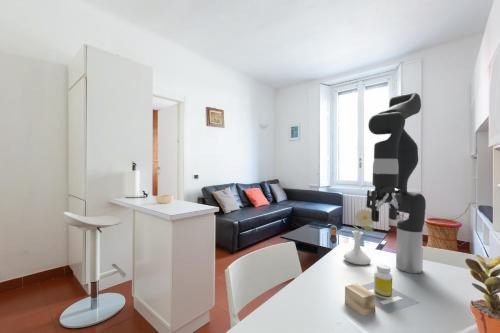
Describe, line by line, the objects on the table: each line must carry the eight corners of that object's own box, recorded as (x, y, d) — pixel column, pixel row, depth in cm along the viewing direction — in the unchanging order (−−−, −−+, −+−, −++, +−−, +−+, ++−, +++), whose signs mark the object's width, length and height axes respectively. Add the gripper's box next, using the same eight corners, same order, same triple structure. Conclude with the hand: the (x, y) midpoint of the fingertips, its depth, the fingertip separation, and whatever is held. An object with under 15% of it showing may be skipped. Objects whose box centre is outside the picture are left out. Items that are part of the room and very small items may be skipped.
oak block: (356, 301, 78) (356, 283, 78) (375, 314, 71) (375, 294, 71) (344, 304, 76) (345, 286, 76) (362, 318, 69) (363, 297, 69)
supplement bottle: (394, 300, 77) (395, 270, 77) (376, 298, 78) (377, 268, 78) (388, 291, 83) (389, 263, 83) (371, 289, 84) (372, 262, 84)
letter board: (377, 282, 90) (377, 281, 90) (419, 304, 77) (419, 302, 77) (348, 290, 84) (348, 288, 84) (387, 315, 71) (387, 313, 71)
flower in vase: (339, 261, 109) (340, 207, 109) (348, 255, 117) (350, 204, 117) (370, 271, 100) (371, 212, 100) (377, 263, 109) (379, 208, 108)
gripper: (389, 172, 86) (388, 216, 86) (360, 172, 81) (359, 219, 81) (410, 172, 79) (408, 221, 80) (380, 172, 74) (379, 224, 74)
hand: (384, 220), depth 80 cm, fingers open, 8 cm apart
